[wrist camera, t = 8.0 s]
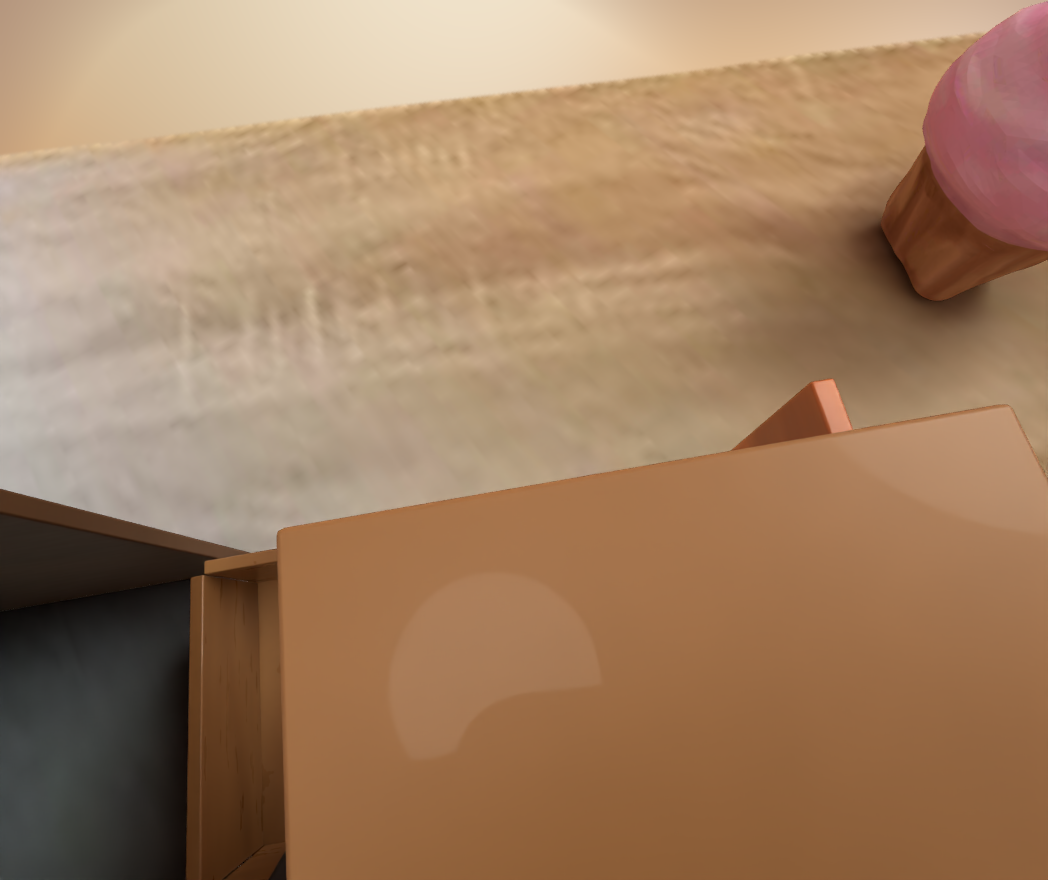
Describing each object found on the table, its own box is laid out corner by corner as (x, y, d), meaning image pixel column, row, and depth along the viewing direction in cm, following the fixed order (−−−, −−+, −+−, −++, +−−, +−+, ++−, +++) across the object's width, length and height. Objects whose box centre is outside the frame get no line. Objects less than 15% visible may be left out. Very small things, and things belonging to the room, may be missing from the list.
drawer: (751, 466, 21) (891, 367, 13) (846, 768, 18) (1112, 889, 10) (253, 552, 20) (66, 504, 12) (259, 886, 17) (12, 1127, 9)
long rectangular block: (653, 571, 14) (1012, 400, 4) (709, 802, 12) (1688, 1753, 2) (468, 604, 14) (272, 528, 3) (501, 844, 12) (318, 2161, 2)
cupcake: (806, 198, 26) (969, -52, 16) (974, 155, 26) (1224, -107, 17) (899, 365, 23) (1160, 183, 14) (1083, 312, 24) (1454, 106, 14)
